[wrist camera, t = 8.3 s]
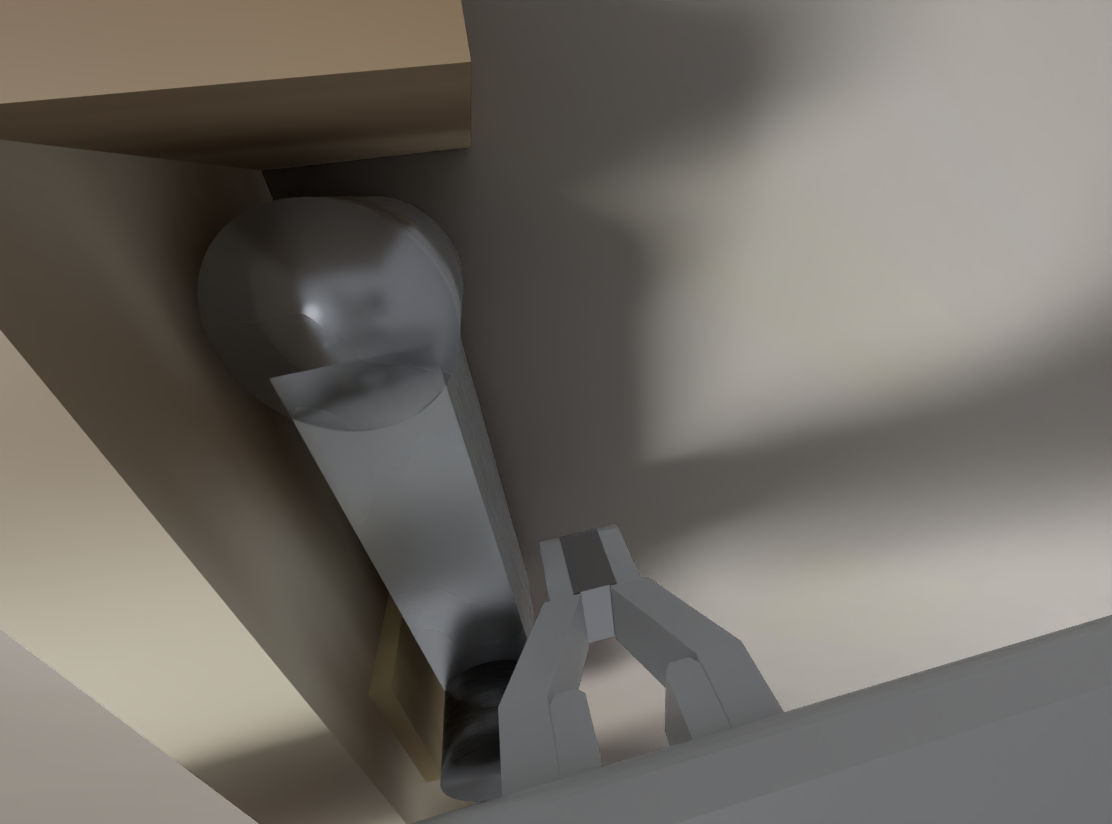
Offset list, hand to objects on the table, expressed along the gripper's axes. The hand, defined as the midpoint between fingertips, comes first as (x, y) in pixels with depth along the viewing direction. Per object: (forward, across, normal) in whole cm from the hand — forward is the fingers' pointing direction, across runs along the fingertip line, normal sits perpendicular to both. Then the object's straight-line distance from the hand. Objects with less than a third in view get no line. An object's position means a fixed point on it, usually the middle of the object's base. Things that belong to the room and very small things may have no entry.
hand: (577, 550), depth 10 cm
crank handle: (+2, +3, -3) cm, 4 cm away
